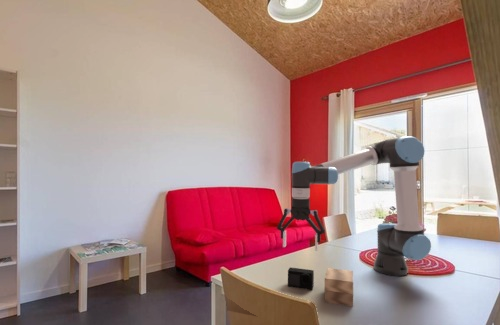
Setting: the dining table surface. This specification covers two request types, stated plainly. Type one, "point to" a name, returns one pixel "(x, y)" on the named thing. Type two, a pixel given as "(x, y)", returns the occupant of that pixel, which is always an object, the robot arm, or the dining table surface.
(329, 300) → the tower base
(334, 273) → the tower top
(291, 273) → the digital camera
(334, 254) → the dining table surface
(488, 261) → the dining table surface
